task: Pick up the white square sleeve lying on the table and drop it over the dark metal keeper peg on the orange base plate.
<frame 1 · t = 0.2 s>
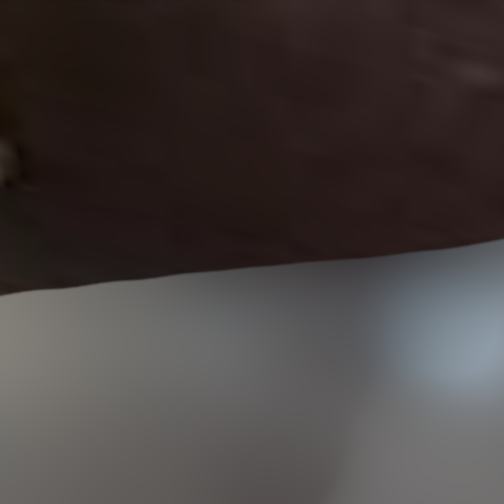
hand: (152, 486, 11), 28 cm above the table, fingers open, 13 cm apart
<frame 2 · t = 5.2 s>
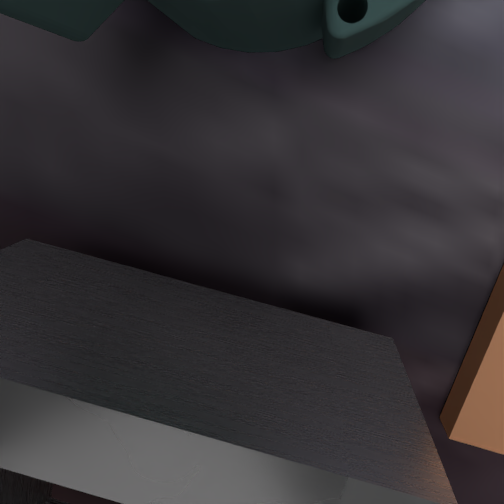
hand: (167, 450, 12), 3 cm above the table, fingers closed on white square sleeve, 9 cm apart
white square sleeve: (171, 441, 12), point 3 cm above the table, touching gripper
when the fingers open (3 cm above the table, at t = 9.6 s): white square sleeve drops 2 cm, resting on keeper.
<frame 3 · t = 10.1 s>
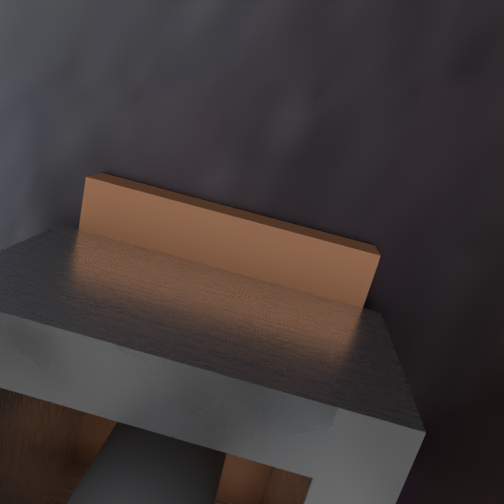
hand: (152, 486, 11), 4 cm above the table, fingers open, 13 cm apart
white square sleeve: (185, 406, 14), point 1 cm above the table, touching keeper
keeper: (193, 387, 15), on the table
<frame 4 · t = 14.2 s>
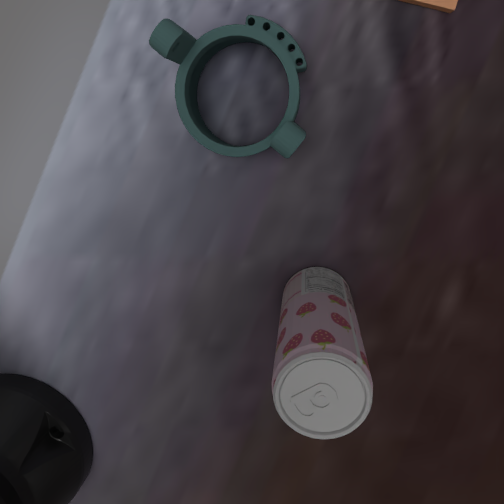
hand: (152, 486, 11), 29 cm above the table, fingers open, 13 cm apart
beverage can: (316, 296, 40), on the table
bracket: (249, 91, 36), on the table
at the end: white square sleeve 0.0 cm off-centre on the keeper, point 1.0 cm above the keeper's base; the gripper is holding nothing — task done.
